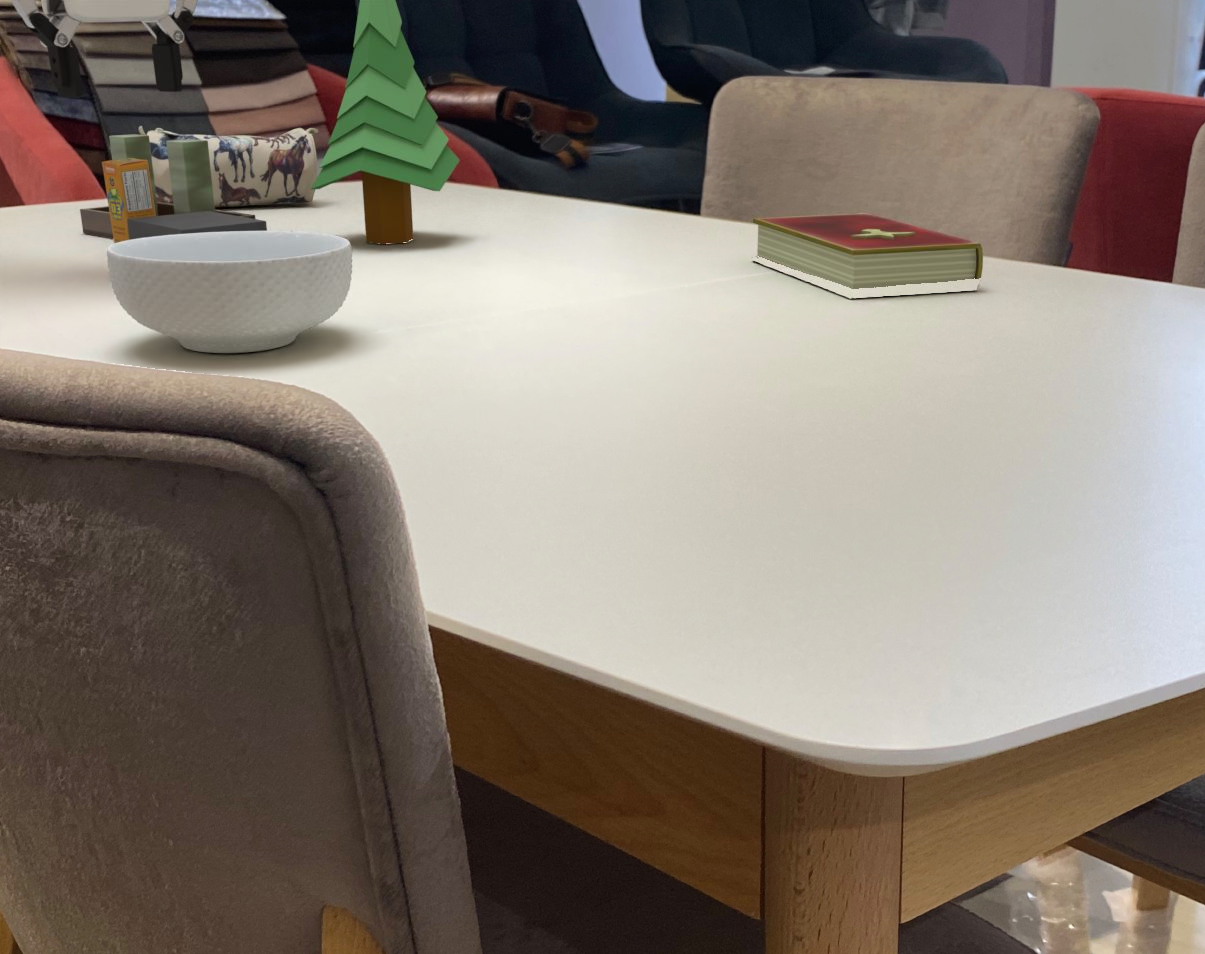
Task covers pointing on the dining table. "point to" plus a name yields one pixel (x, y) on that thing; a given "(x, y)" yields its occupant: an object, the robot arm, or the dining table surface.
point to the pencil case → (246, 167)
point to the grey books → (191, 224)
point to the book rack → (185, 173)
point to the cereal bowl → (231, 285)
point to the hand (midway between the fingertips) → (121, 94)
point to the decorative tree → (386, 127)
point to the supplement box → (127, 193)
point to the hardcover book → (867, 250)
